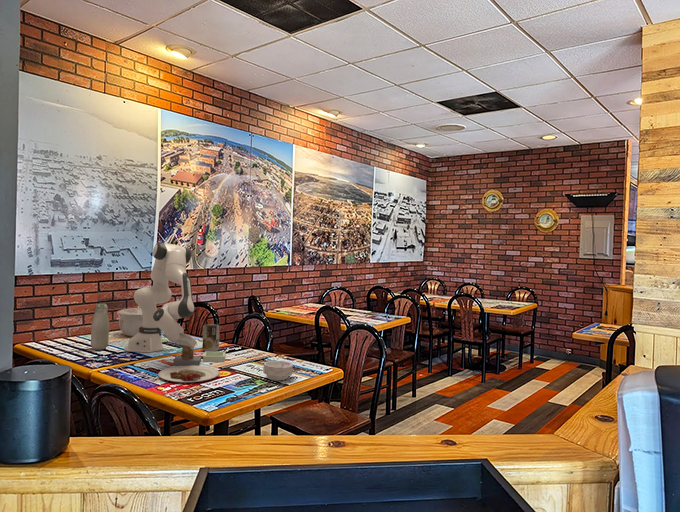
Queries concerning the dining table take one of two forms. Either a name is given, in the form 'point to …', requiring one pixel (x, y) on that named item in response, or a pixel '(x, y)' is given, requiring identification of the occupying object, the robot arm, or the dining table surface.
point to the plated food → (188, 373)
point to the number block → (187, 352)
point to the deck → (186, 361)
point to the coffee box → (211, 337)
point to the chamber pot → (130, 320)
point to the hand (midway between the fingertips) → (189, 347)
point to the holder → (214, 357)
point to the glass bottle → (100, 327)
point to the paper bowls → (278, 370)
